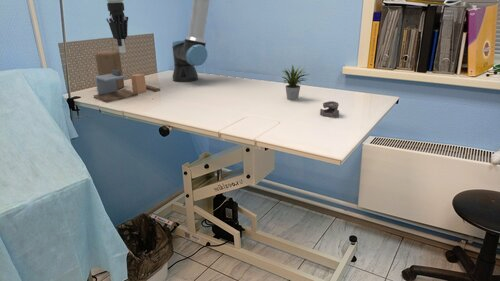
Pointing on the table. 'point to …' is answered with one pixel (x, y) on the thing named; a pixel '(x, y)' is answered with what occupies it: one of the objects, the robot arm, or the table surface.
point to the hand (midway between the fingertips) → (122, 52)
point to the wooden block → (109, 64)
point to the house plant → (293, 83)
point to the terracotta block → (138, 83)
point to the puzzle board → (121, 94)
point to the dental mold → (330, 109)
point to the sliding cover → (108, 82)
